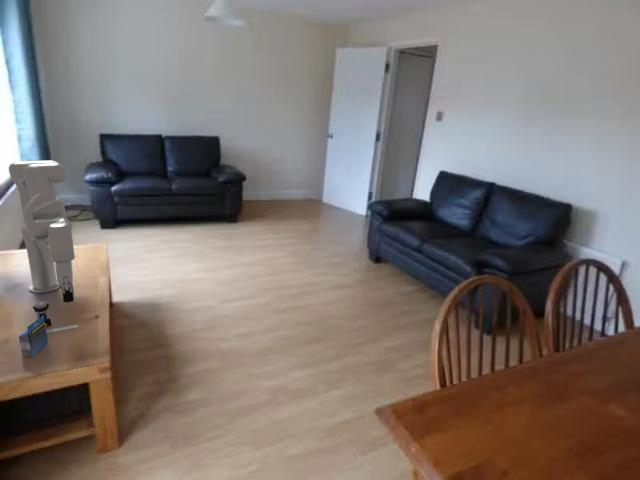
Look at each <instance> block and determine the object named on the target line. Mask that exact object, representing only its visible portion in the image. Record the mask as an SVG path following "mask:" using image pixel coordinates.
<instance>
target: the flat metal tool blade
mask: <svg viewBox="0 0 640 480" xmlns="http://www.w3.org/2000/svg"><path fill="white" fill-rule="evenodd" d="M78 328H79V325H78V324H75V325H68V326H64V327H57V328H53V329H46V333H47V334H51V333H56V332H61V331H66V330H67V331H68V330H72V329H78Z"/></svg>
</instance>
